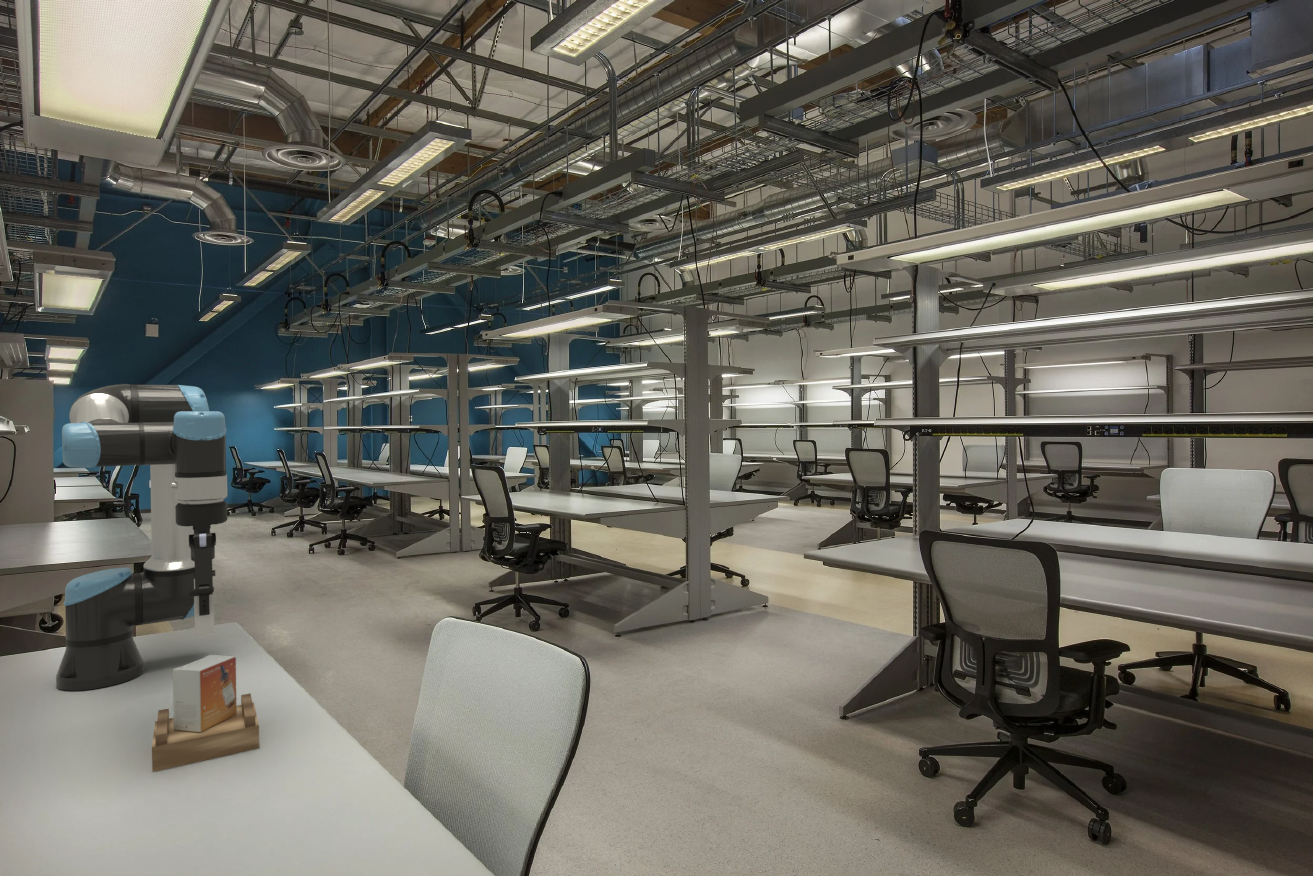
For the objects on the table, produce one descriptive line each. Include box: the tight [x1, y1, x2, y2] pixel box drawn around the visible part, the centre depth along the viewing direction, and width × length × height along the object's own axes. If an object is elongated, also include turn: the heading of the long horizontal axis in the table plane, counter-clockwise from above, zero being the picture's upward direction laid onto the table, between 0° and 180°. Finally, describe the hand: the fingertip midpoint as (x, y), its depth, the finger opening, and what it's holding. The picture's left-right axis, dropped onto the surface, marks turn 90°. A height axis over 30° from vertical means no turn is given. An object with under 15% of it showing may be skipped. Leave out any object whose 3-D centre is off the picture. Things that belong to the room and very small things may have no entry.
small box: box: [172, 654, 237, 732], centre depth 124 cm, size 8×6×10 cm
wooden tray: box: [151, 693, 260, 773], centre depth 124 cm, size 12×15×6 cm
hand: (204, 623), depth 123 cm, fingers open, 13 cm apart
